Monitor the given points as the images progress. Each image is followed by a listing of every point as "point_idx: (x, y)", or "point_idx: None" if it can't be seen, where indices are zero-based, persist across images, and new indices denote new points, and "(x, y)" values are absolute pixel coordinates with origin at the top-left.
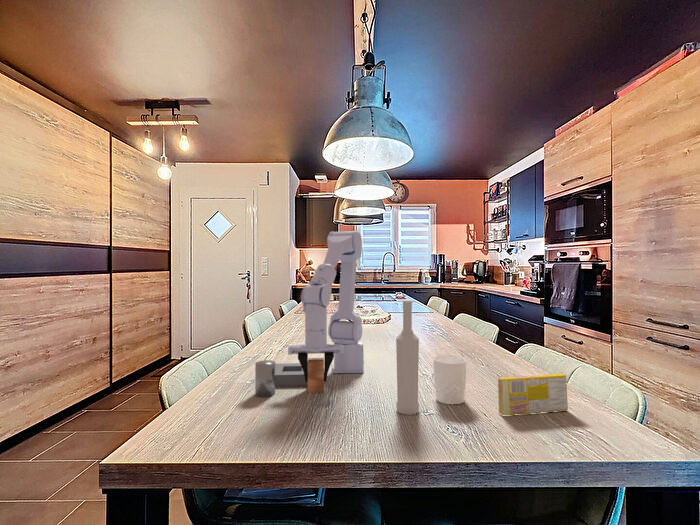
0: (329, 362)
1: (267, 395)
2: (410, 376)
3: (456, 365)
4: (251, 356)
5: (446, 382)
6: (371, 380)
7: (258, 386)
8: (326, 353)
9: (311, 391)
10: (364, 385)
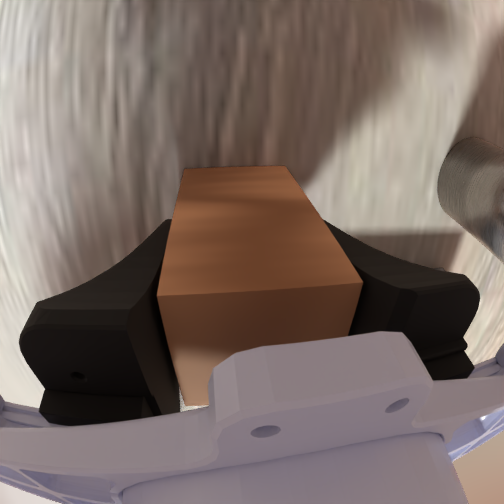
0: (90, 287)
1: (471, 140)
2: None
3: None
4: None
5: None
6: (5, 324)
7: None
8: (125, 409)
9: (263, 167)
10: (6, 272)
